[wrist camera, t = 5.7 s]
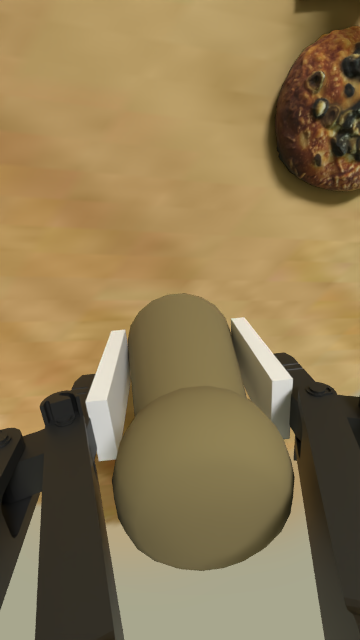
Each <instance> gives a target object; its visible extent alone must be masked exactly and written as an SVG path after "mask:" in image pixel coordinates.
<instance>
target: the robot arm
mask: <svg viewBox="0 0 360 640" xmlns="http://www.w3.org/2000/svg"><path fill="white" fill-rule="evenodd" d="M231 336H232V341H233V345H234V349H235V353H236V357H237V361H238V365H239V369H240V373H241V377H242V381H243V385H244V387H245V389H246V391H247V393H248V395H249V397H250V399H251V401H252V402H253V403H254V404H255V405H256V406H257V407H259V408H260V409H261V410H262V411H263V413H264V414H265V415H266V416H267V417H268V418H269V419H270V420H271V421H272V422H273V423H274V425H275V426H276V427H277V429H278V431H279V433H280V434H281V436H282V438H283V439H290V427H291V428H292V430H293V432H294V433H295V446H294V460H296V461H297V464H298V470H299V476H300V482H301V489H302V496H303V502H304V508H305V515H306V521H307V528H308V534H309V541H310V547H311V554H312V559H313V566H314V573H315V579H316V585H317V592H318V599H319V605H320V610H321V618H322V624H323V630H324V637H325V640H360V397H354V396H343V395H337V393H336V391H335V390H334V389H333V388H332V387H330V386H329V385H326V384H323V383H320V382H315V381H314V380H313V379H312V378H311V376H310V375H309V374H308V373H307V372H306V371H305V370H304V369H303V368H302V367H301V365H300V364H298V362H297V361H296V360H295V359H294V358H293V357H292V356H290V355H288V354H286V353H276V354H273V353H272V352H271V350H270V349H269V348H268V347H267V345H266V344H265V343H264V342H263V340H262V339H261V338H260V337H259V335H258V334H257V333H256V332H255V330H254V329H253V328H252V327H251V325H250V324H249V323H248V321H247V320H246V319H245V318H244V317H242V318H232V319H231ZM130 382H131V371H130V360H129V350H128V344H127V338H126V332H125V330H117V331H111V334H110V337H109V339H108V342H107V345H106V347H105V350H104V353H103V356H102V358H101V361H100V364H99V366H98V369H97V372H96V374H89V375H82V376H81V377H80V378H79V379H78V380H76V381H75V383H74V385H73V387H72V390H71V391H61V392H57V393H54V394H52V395H50V396H48V397H47V398H45V399H44V400H43V401H42V402H41V405H40V410H41V413H42V417H43V420H44V423H45V429H43V430H40V431H38V432H35V433H32V434H29V435H26V436H22V433H21V432H20V430H19V429H16V428H7V429H3V430H0V609H1V606H2V603H3V600H4V597H5V594H6V591H7V588H8V586H9V583H10V580H11V577H12V574H13V571H14V568H15V565H16V562H17V559H18V556H19V553H20V550H21V547H22V545H23V541H24V539H25V535H26V533H27V530H28V527H29V524H30V521H31V518H32V515H33V512H34V509H35V506H36V503H37V501H38V498H39V495H40V492H42V505H41V526H40V548H39V568H38V590H37V612H36V630H35V632H36V633H35V640H124V635H123V629H122V623H121V618H120V611H119V605H118V599H117V592H116V586H115V581H114V574H113V568H112V562H111V556H110V550H109V543H108V537H107V531H106V525H105V519H104V513H103V506H102V500H101V494H100V488H99V482H98V476H97V470H96V465H95V461H94V459H95V455H96V451H97V454H98V459H99V461H106V460H114V459H116V457H117V453H118V448H119V444H120V441H121V439H122V435H123V428H124V421H125V415H126V408H127V402H128V395H129V389H130Z"/></svg>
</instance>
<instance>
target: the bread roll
mask: <svg viewBox="0 0 360 640" xmlns="http://www.w3.org/2000/svg"><path fill="white" fill-rule="evenodd" d="M276 107H277V113H276V117H275V126H276V136H277V145H278V146H277V151H278V152H279V159H280V160H281V161H282V162H283V164H284V165H285V166H286V167H287V168H288V170H290V172H291V173H292V174H294V175H296V176H297V177H298V178H299V179H302V180H303V181H305V182H307V183H309V184H311V185H314V186H316V187H321V188H324V189H327V190H334V191H352V190H356V189H359V188H360V27H358V26H351V27H349V28H345V29H343V30H334V31H332V32H331V33H328V34H324V35H322V36H321V37H320V38H319V39H318V40H317V41H316V42H315V43H313V44H311V45H310V46H308V47H306V48H305V49H304V50H303V51H302V53H301V54H300V56H299V57H298V58H297V60H296V61H295V62H294V64H293V66H292V67H291V69H290V71H289V73H288V76H287V78H286V80H285V82H284V84H283V85H282V88H281V91H280V94H279V98H278V100H277V106H276Z"/></svg>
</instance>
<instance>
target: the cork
mask: <svg viewBox="0 0 360 640" xmlns="http://www.w3.org/2000/svg"><path fill="white" fill-rule="evenodd" d="M128 350H129V360H130V371H131V382H132V392H133V403H134V414H135V418H134V420H133V421H132V423H131V424H130V426H129V427H128V429H127V430H126V432H125V434H124V436H123V438H122V439H121V441H120V444H119V448H118V453H117V457H116V462H115V467H114V472H113V477H112V485H113V493H114V500H115V505H116V510H117V515H118V519H119V521H120V522H121V524H122V526H123V528H124V530H125V532H126V533H127V535H128V536H129V537H130V539H131V540H132V542H133V543H134V544H135V546H136V548H137V549H138V550H140V551H141V552H143V553H144V554H146V555H147V556H149V557H150V558H151V559H153V560H154V561H157V562H160V563H163V564H166V565H169V566H172V567H175V568H179V569H186V570H199V571H204V570H211V569H219V568H225V567H228V566H231V565H233V564H236V563H240V562H242V561H244V560H246V559H248V558H249V557H251V556H253V555H254V554H256V553H258V552H259V551H261V550H262V549H264V548H265V547H267V545H268V544H269V543H270V542H271V541H272V540H273V539H274V538H275V537H276V536H277V535H278V534H279V533H280V532H281V531H282V529H283V527H284V525H285V523H286V521H287V519H288V517H289V515H290V512H291V505H292V499H293V488H294V472H293V468H292V463H291V459H290V456H289V453H288V451H287V448H286V445H285V442H284V440H283V438H282V436H281V434H280V433H279V431H278V429H277V427H276V426H275V425H274V423H273V422H272V421H271V420H270V419H269V418H268V417H267V416H266V415H265V414H264V413H263V411H262V410H261V409H260V408H259V407H257V406H256V405H255V404H254V403H253V402H252V401H251V400H249V399H247V397H246V393H245V389H244V385H243V381H242V377H241V373H240V369H239V365H238V361H237V357H236V353H235V349H234V345H233V341H232V336H231V332H230V329H229V327H228V324H227V321H226V319H225V317H224V315H223V314H222V313H221V312H220V311H219V309H218V308H217V307H216V306H215V305H214V304H212V303H210V302H209V301H207V300H205V299H204V298H202V297H199V296H194V295H190V294H185V293H183V294H171V295H166V296H163V297H161V298H159V299H156V300H154V301H151V302H150V303H149V304H148V305H147V306H146V307H144V308H143V309H142V310H141V311H140V312H139V313H138V315H137V316H136V318H135V319H134V321H133V323H132V324H131V327H130V332H129V337H128Z"/></svg>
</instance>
